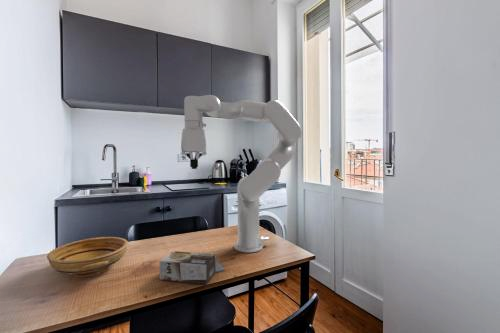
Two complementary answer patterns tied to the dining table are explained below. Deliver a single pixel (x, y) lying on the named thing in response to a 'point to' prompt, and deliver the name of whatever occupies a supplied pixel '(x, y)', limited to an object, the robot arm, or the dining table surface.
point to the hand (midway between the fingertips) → (194, 168)
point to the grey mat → (218, 266)
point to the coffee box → (188, 267)
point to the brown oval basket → (87, 255)
